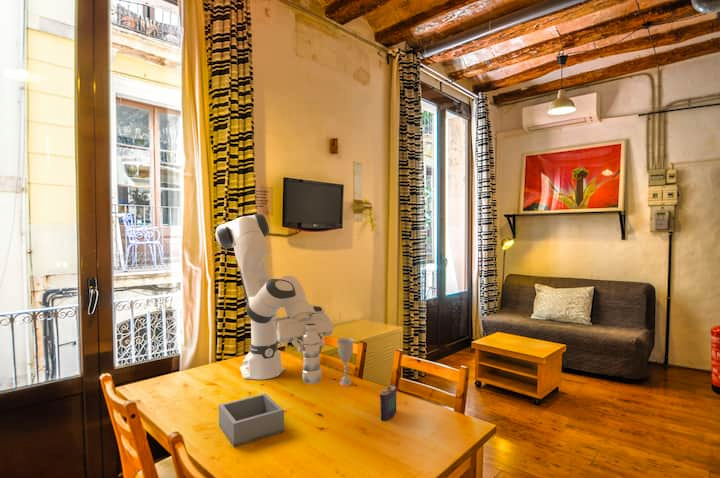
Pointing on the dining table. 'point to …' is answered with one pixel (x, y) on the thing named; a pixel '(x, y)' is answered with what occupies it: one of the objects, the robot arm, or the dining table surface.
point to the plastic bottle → (311, 355)
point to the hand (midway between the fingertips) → (311, 348)
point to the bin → (250, 419)
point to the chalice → (345, 356)
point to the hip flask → (388, 403)
